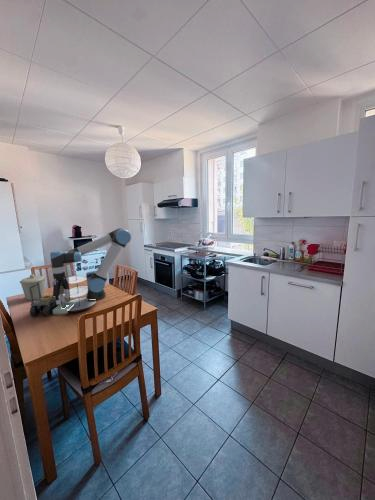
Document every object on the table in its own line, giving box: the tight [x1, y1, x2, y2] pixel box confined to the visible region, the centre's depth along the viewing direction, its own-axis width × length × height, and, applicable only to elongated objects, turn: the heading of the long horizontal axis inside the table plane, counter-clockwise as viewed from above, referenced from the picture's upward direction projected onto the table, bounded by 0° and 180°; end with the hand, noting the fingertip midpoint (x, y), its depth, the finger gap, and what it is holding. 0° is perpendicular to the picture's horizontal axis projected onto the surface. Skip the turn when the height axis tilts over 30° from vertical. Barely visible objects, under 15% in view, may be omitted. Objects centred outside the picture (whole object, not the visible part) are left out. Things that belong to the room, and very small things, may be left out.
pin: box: [60, 293, 66, 308], centre depth 157 cm, size 3×3×12 cm
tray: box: [52, 301, 75, 316], centre depth 158 cm, size 9×13×4 cm
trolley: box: [29, 283, 59, 317], centre depth 154 cm, size 12×16×22 cm
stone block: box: [59, 277, 71, 305], centre depth 170 cm, size 13×7×20 cm, turn 18°
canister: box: [19, 274, 46, 301], centre depth 183 cm, size 18×18×21 cm
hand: (62, 300), depth 157 cm, fingers open, 11 cm apart
